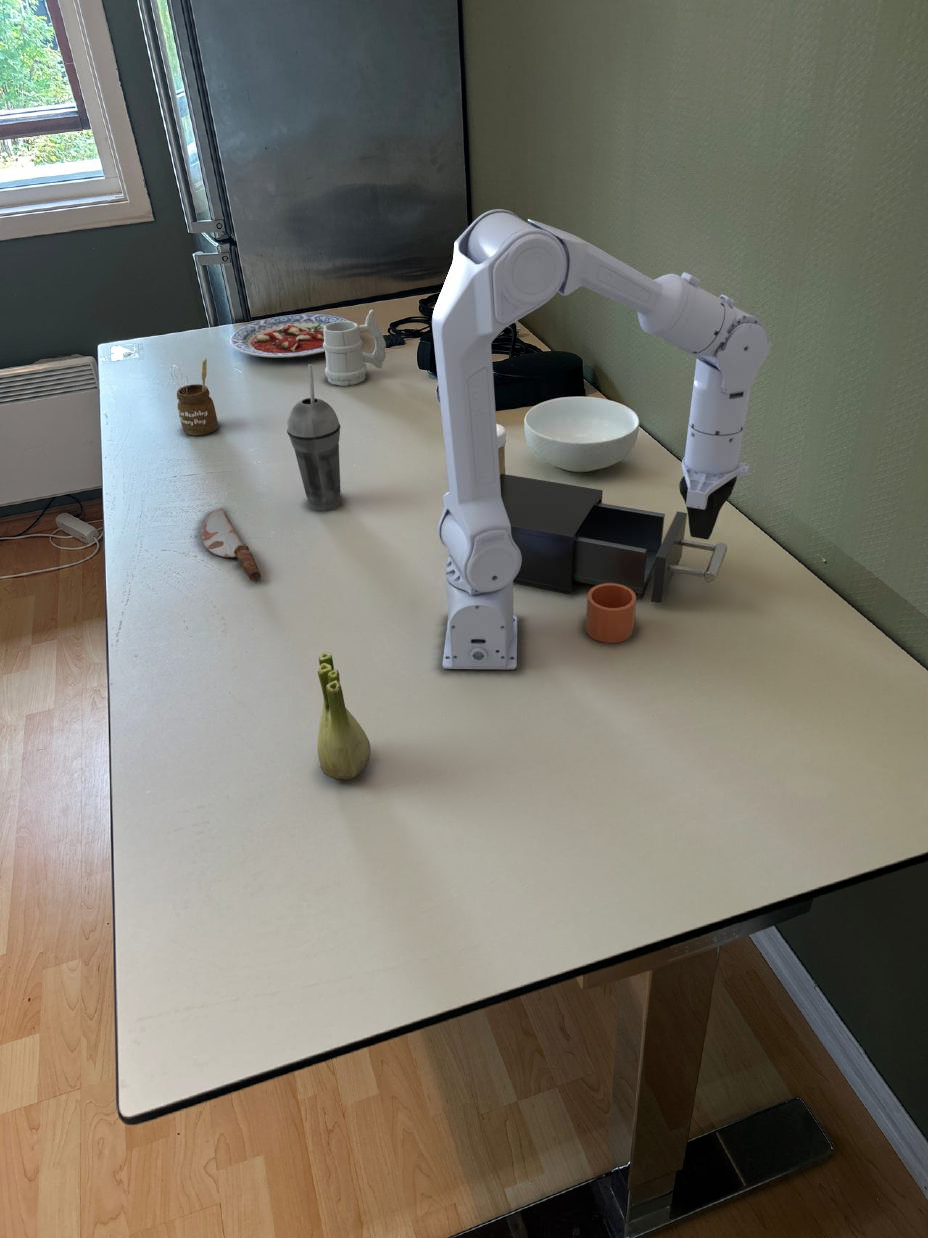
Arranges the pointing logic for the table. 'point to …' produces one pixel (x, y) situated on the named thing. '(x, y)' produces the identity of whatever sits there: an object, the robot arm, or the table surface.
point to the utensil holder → (196, 407)
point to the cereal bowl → (581, 432)
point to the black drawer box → (546, 528)
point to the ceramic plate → (283, 336)
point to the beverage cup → (316, 449)
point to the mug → (351, 350)
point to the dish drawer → (636, 550)
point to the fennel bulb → (338, 729)
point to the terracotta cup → (610, 612)
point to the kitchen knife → (227, 542)
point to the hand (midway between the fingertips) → (700, 535)
